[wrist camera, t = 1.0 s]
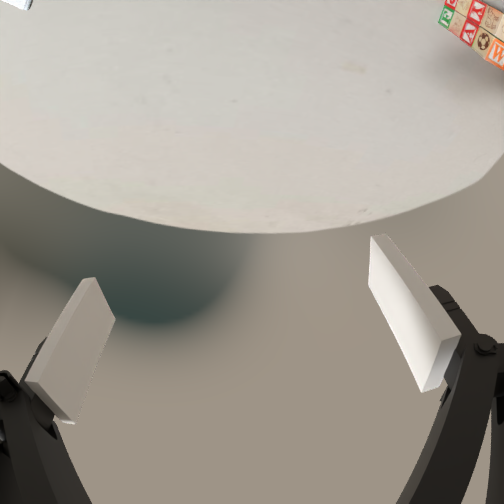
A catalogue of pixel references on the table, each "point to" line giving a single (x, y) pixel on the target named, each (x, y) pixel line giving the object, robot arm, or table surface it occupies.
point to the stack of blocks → (476, 27)
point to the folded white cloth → (20, 3)
